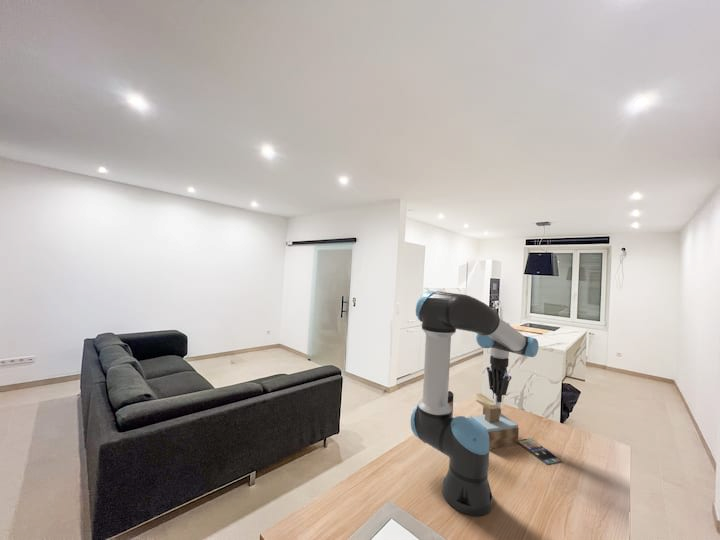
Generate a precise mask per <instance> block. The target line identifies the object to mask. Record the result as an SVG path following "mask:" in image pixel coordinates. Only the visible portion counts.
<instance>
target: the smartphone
mask: <svg viewBox="0 0 720 540" xmlns="http://www.w3.org/2000/svg"><path fill="white" fill-rule="evenodd" d="M517 445H519V446H520V447H522V449H524V450H526V451H528V452H529V453H530V454H531V455H532V456H534V457H536V458H537V459H538V460H539V461H541V462H542V463H544V464H545V465H546V466H549V465H550V466H551V465H554V464H560V463H563V462H564V461H563V460H562V459H561V458H560V457H558V456H557V455H555V454H554V453H552V452H551V451H550V450H548V449H547V448H545V447H544V446H542V445H541V444H539V443H538V442H537V441H535V440H534V439H533V438H531V437H529V438H524V439H518V444H517Z"/></svg>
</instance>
